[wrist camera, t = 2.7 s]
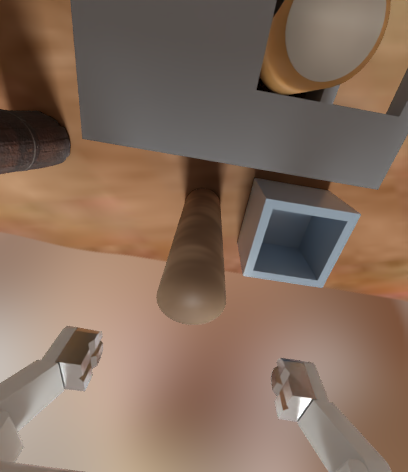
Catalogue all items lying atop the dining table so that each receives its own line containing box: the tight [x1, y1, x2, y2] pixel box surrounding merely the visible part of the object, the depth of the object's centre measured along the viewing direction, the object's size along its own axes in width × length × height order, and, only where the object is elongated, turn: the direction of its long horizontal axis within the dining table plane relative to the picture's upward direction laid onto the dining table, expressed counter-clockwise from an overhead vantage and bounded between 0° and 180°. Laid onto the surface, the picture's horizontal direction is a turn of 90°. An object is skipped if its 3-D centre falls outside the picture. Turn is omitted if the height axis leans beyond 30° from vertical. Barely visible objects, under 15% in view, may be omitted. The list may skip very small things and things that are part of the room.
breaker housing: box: [71, 0, 408, 190], centre depth 14 cm, size 15×13×13 cm
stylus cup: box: [237, 178, 361, 288], centre depth 24 cm, size 8×8×6 cm
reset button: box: [260, 0, 391, 95], centre depth 14 cm, size 5×5×7 cm
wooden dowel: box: [157, 188, 226, 325], centre depth 20 cm, size 4×4×15 cm
